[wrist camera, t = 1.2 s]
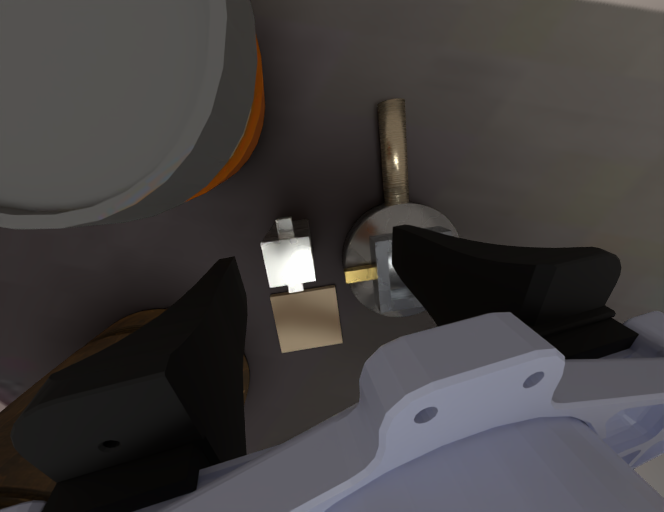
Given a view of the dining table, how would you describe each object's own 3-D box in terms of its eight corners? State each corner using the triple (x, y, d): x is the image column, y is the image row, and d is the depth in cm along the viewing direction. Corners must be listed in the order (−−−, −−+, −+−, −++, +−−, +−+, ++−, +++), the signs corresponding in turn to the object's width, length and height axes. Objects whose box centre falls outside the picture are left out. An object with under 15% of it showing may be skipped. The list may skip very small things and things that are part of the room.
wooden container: (57, 376, 26) (-1039, 1266, 5) (160, 276, 24) (-908, 1016, 3) (184, 454, 30) (-110, 1123, 9) (281, 373, 28) (201, 979, 7)
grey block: (315, 263, 25) (318, 295, 18) (282, 268, 25) (273, 302, 18) (306, 206, 23) (305, 219, 17) (271, 211, 23) (256, 225, 16)
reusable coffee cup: (288, 28, 19) (238, -377, 5) (281, 204, 23) (239, 253, 9) (99, -2, 18) (-690, -672, 4) (121, 190, 22) (-243, 221, 7)
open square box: (440, 291, 24) (451, 301, 22) (348, 305, 23) (351, 317, 21) (439, 225, 22) (452, 230, 20) (340, 240, 21) (343, 246, 20)
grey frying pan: (447, 295, 27) (461, 307, 25) (348, 311, 26) (352, 325, 24) (447, 98, 22) (464, 89, 19) (324, 113, 21) (326, 106, 19)
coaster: (341, 339, 27) (342, 342, 27) (282, 349, 27) (281, 352, 26) (334, 284, 25) (335, 287, 25) (270, 294, 25) (270, 297, 25)
